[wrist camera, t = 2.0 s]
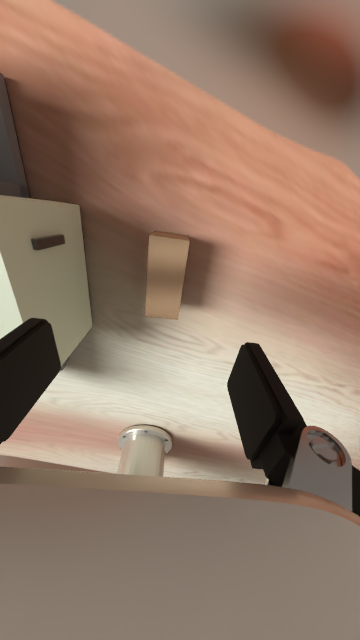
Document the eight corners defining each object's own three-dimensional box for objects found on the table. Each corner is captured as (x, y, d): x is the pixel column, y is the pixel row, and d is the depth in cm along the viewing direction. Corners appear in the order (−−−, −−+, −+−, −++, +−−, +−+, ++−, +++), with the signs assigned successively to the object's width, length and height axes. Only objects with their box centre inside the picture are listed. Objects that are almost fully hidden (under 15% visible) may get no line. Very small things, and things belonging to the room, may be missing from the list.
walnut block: (178, 302, 27) (177, 319, 23) (150, 299, 27) (145, 315, 23) (188, 235, 23) (189, 240, 18) (155, 231, 23) (149, 234, 18)
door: (95, 326, 29) (48, 389, 18) (72, 324, 28) (11, 385, 18) (82, 205, 21) (-11, 196, 11) (51, 200, 21) (-75, 187, 10)
